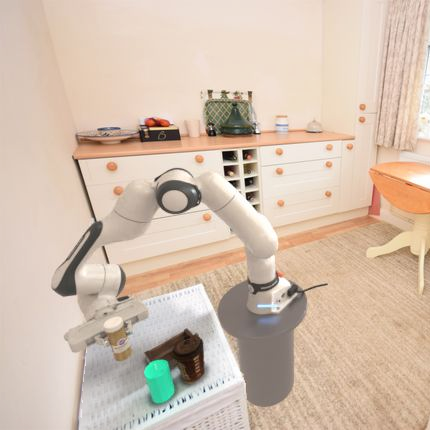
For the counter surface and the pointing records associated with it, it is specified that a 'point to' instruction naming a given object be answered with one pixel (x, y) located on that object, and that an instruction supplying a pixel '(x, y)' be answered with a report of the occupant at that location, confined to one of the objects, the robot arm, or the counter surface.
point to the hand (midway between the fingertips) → (118, 338)
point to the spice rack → (165, 346)
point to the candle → (159, 381)
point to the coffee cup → (189, 357)
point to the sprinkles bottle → (117, 338)
